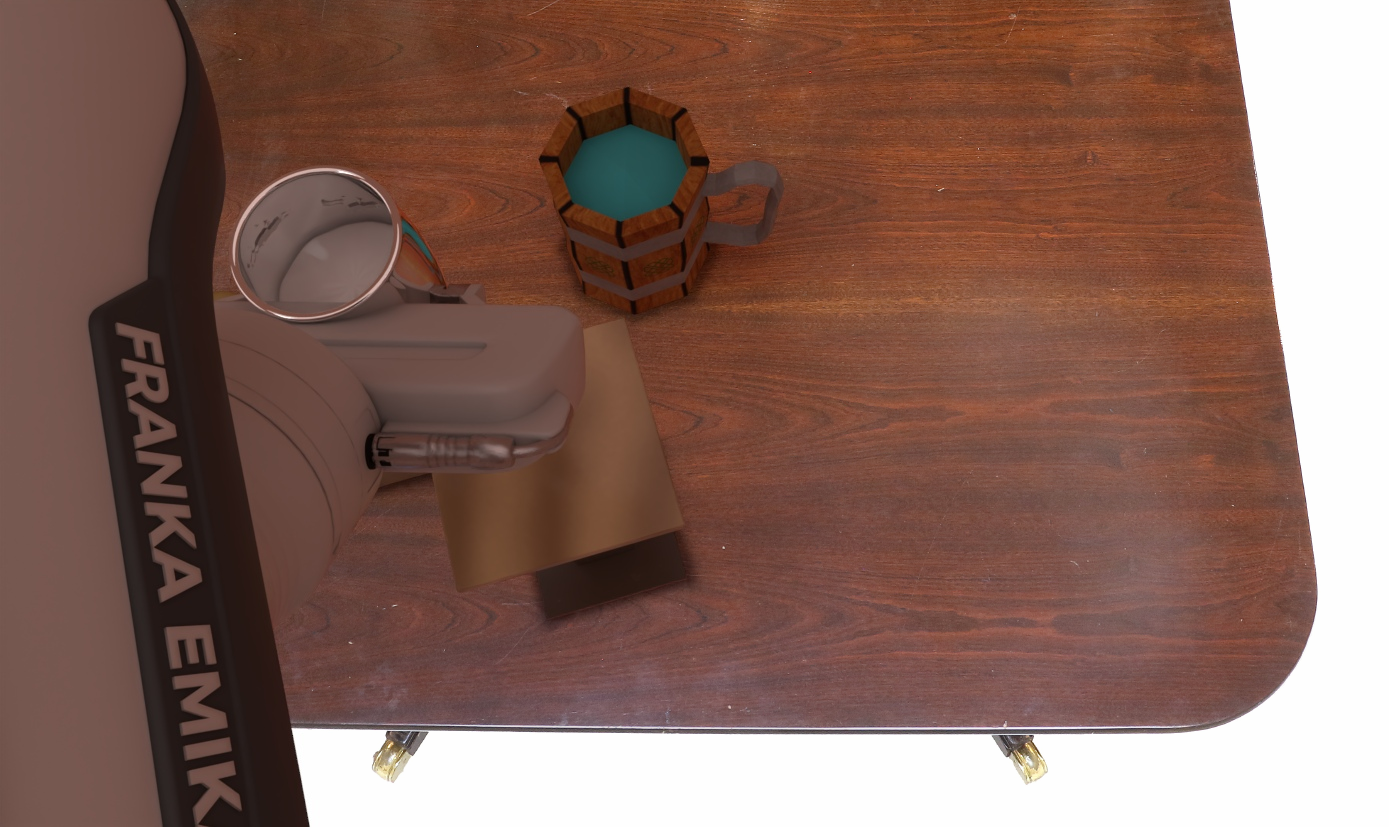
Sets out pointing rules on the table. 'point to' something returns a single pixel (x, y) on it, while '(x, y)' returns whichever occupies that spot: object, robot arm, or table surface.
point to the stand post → (611, 575)
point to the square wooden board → (568, 482)
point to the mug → (643, 198)
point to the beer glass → (330, 247)
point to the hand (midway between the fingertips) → (377, 298)
